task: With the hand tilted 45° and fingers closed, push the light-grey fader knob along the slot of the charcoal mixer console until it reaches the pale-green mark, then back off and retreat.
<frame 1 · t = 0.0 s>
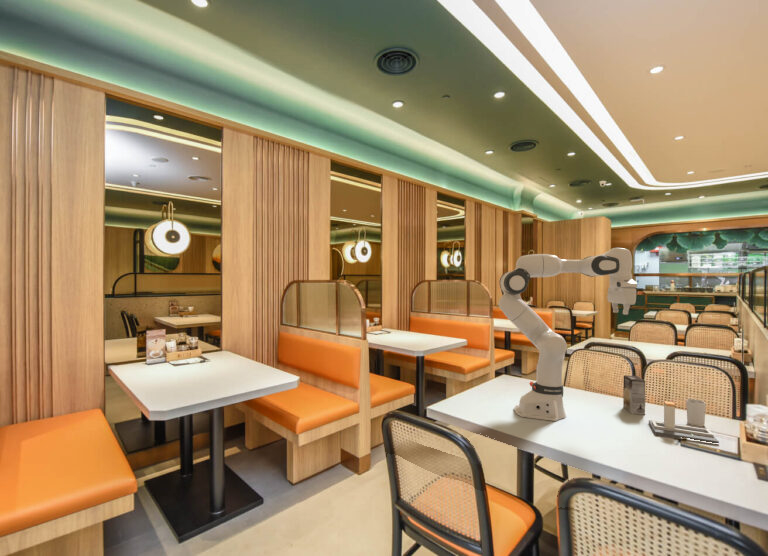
hand: (620, 313, 170), 48 cm above the table, tool pointing down, fingers open, 8 cm apart
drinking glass: (695, 424, 164), on the table
console: (681, 433, 154), on the table
coffee box: (633, 411, 180), on the table
fader: (669, 415, 155), point 7 cm above the table, slide at 0.0 cm
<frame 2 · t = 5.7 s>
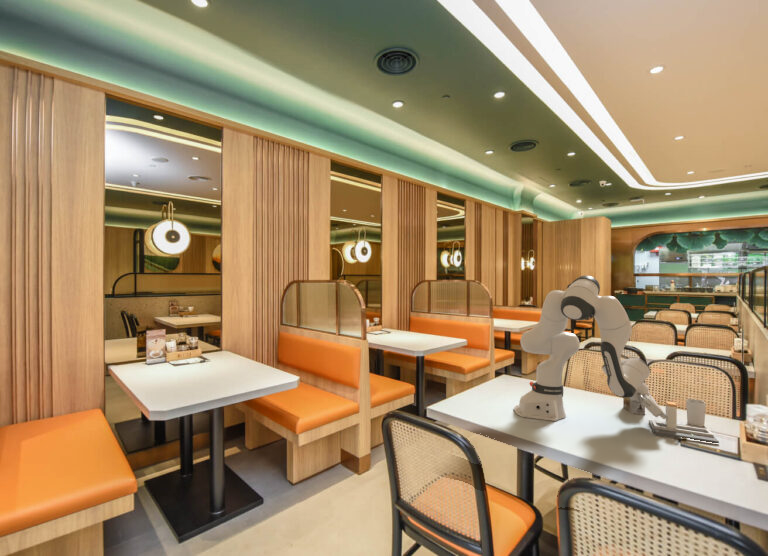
hand: (664, 417, 156), 6 cm above the table, tool tilted 45°, fingers closed, pressing on fader
fader: (671, 415, 155), point 7 cm above the table, slide at 0.6 cm, touching gripper
everything else where it was.
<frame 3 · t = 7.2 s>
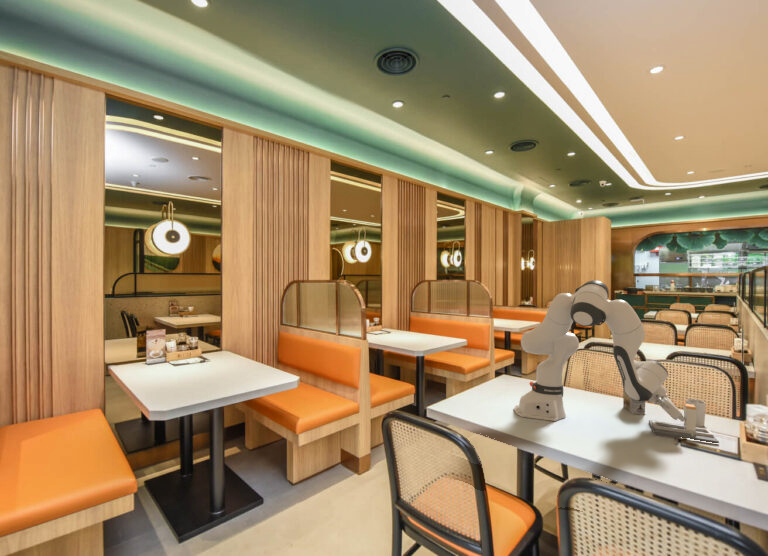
hand: (683, 419, 153), 6 cm above the table, tool tilted 45°, fingers closed, pressing on fader
fader: (689, 418, 152), point 7 cm above the table, slide at 6.8 cm, touching gripper
everything else where it was.
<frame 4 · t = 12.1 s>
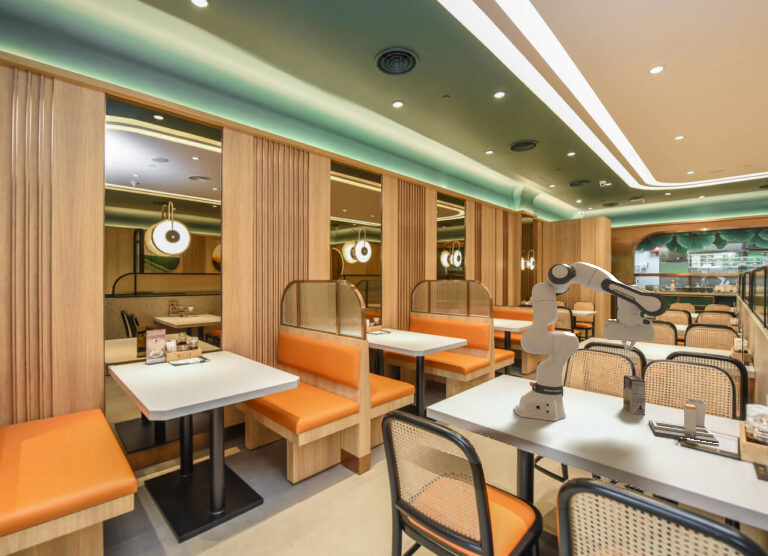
hand: (628, 349, 172), 31 cm above the table, tool pointing down, fingers closed
fader: (689, 418, 152), point 7 cm above the table, slide at 6.8 cm
everything else where it was.
at the end: fader slide at 6.8 cm; fader touching nothing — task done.
